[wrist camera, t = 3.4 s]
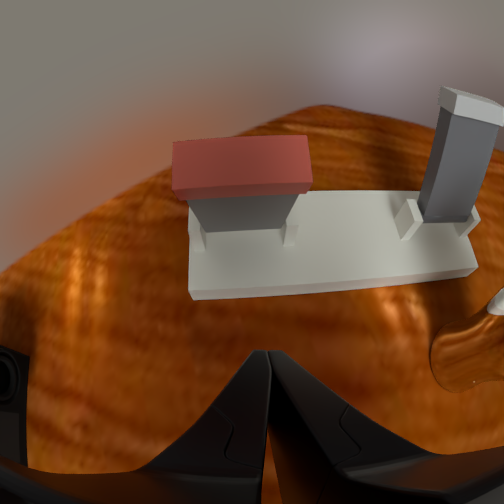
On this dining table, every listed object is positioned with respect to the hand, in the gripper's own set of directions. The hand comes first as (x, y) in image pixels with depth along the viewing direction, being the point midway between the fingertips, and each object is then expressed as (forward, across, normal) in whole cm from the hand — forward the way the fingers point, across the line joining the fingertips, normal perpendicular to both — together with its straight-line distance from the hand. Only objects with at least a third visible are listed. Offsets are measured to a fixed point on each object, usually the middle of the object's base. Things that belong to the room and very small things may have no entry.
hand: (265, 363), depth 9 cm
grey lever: (+14, -15, -4) cm, 21 cm away
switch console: (+17, -8, 0) cm, 18 cm away
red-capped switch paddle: (+14, +1, -2) cm, 14 cm away
